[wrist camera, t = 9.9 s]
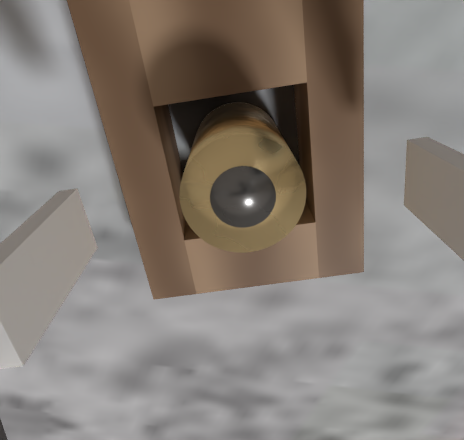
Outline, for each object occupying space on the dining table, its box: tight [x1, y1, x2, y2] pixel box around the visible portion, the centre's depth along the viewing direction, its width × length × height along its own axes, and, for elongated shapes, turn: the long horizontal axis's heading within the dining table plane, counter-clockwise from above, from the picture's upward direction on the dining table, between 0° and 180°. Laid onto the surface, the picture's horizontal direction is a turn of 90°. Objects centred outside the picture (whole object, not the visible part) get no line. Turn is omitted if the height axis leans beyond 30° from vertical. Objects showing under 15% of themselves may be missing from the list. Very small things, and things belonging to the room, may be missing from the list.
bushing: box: [180, 102, 306, 253], centre depth 19 cm, size 5×5×8 cm
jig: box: [67, 0, 364, 299], centre depth 19 cm, size 12×22×4 cm, turn 8°
